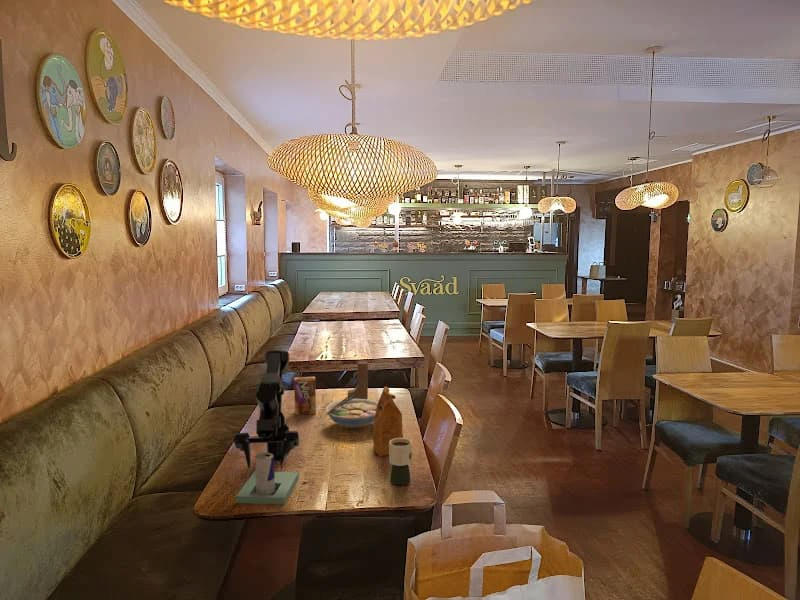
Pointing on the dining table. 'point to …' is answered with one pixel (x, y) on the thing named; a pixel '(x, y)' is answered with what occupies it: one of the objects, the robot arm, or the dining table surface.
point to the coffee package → (386, 423)
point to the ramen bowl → (352, 412)
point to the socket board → (284, 486)
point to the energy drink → (265, 474)
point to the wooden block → (361, 382)
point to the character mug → (400, 460)
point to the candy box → (305, 395)
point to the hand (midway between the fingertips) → (265, 467)
